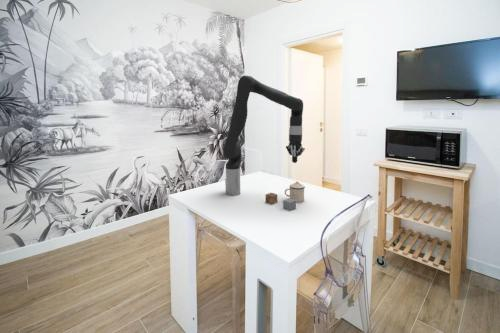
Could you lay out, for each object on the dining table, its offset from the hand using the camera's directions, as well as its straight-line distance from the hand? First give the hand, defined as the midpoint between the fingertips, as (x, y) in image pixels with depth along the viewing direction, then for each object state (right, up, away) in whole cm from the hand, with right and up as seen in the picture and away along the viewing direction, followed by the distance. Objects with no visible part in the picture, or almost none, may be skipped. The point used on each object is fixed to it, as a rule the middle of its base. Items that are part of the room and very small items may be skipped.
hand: (294, 162), depth 162 cm
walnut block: (-14, -24, +1) cm, 28 cm away
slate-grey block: (-4, -26, -9) cm, 28 cm away
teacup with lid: (+1, -23, +5) cm, 24 cm away
